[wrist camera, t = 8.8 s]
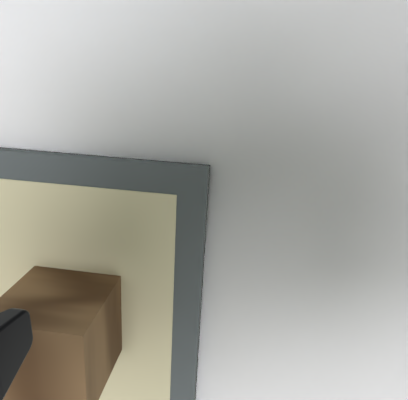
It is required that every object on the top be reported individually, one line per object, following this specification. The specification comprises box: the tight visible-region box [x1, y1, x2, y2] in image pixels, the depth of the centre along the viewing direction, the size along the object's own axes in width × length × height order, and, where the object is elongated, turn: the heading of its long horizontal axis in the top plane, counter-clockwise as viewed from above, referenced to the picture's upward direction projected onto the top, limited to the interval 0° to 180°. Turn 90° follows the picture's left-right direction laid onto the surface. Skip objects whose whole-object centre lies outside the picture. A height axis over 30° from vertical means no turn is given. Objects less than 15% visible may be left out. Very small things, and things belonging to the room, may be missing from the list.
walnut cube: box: [0, 266, 122, 400], centre depth 20 cm, size 5×5×5 cm
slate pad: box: [0, 148, 210, 400], centre depth 22 cm, size 14×18×1 cm
